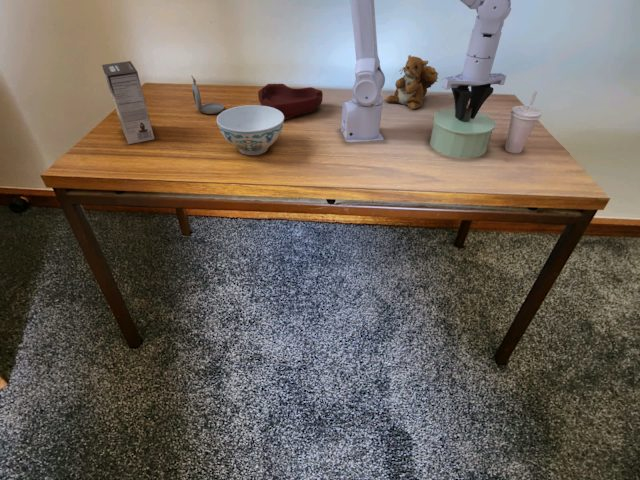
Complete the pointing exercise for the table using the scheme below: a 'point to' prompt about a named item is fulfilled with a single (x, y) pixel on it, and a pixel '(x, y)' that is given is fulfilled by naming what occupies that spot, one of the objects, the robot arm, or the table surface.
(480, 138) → the crock
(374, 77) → the robot arm
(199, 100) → the pocket watch
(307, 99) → the dark red heart-shaped dish
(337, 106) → the table surface
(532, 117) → the smoothie
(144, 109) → the coffee box
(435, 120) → the lid
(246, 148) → the chinaware
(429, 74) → the stuffed squirrel
